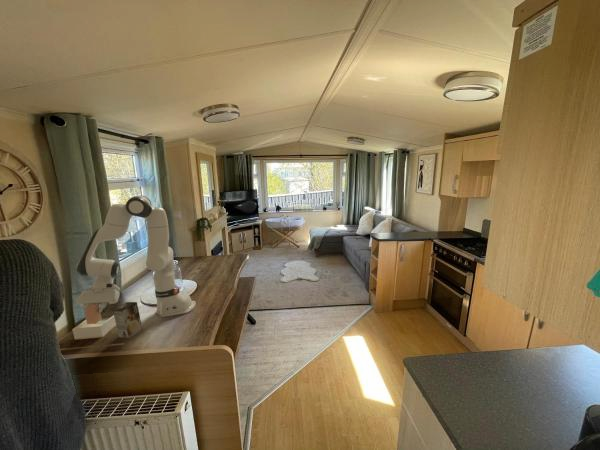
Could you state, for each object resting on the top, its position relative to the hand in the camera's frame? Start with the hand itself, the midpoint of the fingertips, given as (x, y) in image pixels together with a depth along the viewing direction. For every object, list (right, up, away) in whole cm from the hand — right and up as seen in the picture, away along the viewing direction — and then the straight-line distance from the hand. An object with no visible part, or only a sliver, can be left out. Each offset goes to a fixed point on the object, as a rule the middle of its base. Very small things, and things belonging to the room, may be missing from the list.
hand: (93, 312), depth 141 cm
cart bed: (+1, -11, +2) cm, 11 cm away
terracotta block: (0, -5, +1) cm, 5 cm away
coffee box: (+21, -11, -1) cm, 24 cm away
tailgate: (0, -9, +8) cm, 13 cm away
